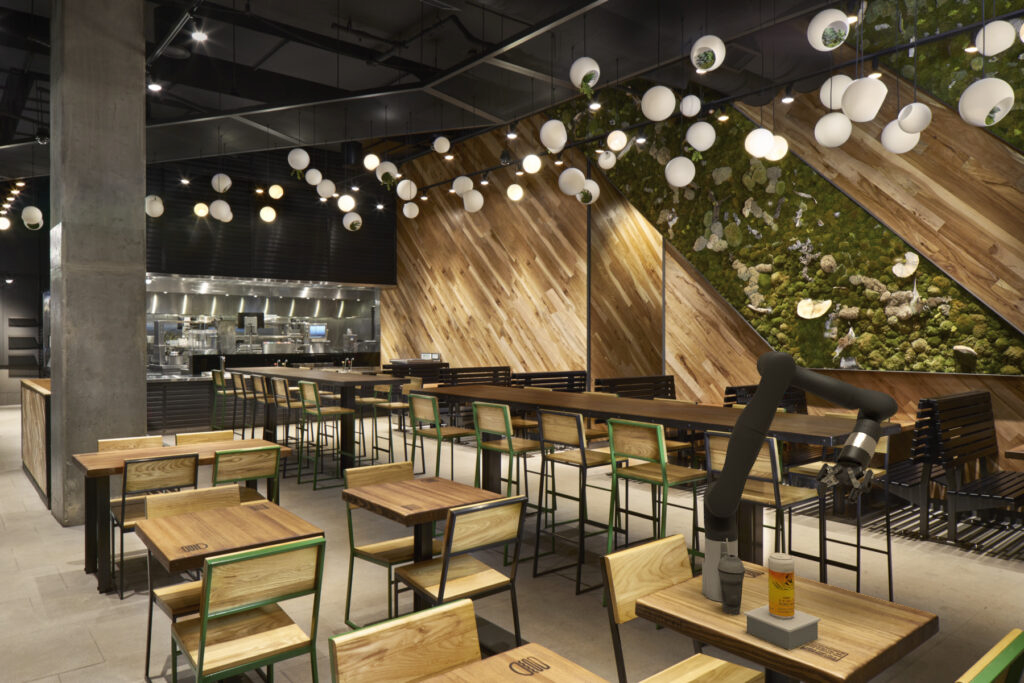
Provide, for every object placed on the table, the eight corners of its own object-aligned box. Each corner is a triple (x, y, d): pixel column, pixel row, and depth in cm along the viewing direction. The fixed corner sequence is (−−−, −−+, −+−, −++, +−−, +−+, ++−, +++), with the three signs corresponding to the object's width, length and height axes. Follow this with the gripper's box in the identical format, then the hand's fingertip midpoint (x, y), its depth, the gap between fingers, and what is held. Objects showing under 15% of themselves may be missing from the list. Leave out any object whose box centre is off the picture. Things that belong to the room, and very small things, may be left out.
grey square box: (743, 632, 168) (743, 612, 168) (774, 621, 175) (774, 602, 175) (789, 651, 157) (789, 630, 157) (820, 638, 164) (820, 618, 164)
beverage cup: (738, 619, 176) (738, 544, 177) (712, 612, 181) (712, 539, 182) (749, 611, 182) (749, 539, 182) (724, 604, 186) (724, 534, 187)
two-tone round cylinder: (782, 621, 162) (781, 560, 163) (763, 612, 168) (762, 554, 168) (800, 617, 165) (799, 557, 165) (781, 609, 170) (780, 551, 171)
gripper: (827, 441, 188) (804, 486, 181) (877, 446, 176) (855, 494, 169) (838, 458, 190) (816, 502, 184) (888, 464, 178) (866, 512, 172)
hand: (834, 499), depth 177 cm, fingers open, 8 cm apart
